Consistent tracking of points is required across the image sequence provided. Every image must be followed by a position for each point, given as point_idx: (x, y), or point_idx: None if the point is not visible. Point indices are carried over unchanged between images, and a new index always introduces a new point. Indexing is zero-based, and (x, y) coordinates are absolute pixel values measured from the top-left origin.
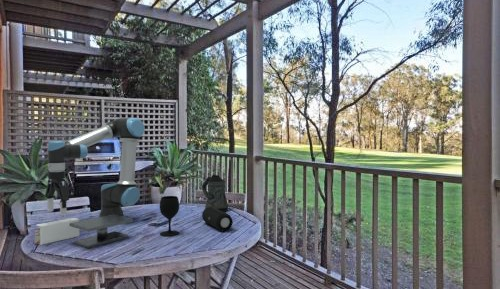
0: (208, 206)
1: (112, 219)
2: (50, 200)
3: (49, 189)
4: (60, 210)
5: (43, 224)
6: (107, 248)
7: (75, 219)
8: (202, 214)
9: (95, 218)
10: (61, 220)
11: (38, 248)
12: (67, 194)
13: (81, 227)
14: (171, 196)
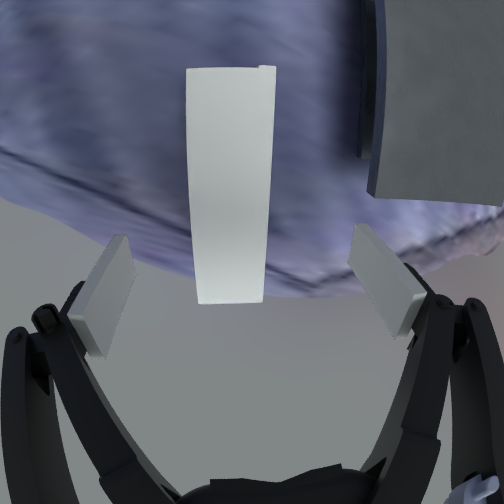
0: None
1: (479, 32)
2: (102, 326)
3: (51, 442)
4: (365, 283)
5: (228, 281)
6: None
7: (265, 88)
8: None
9: (402, 34)
10: (206, 169)
11: (286, 266)
12: (495, 348)
13: (466, 201)
14: None
